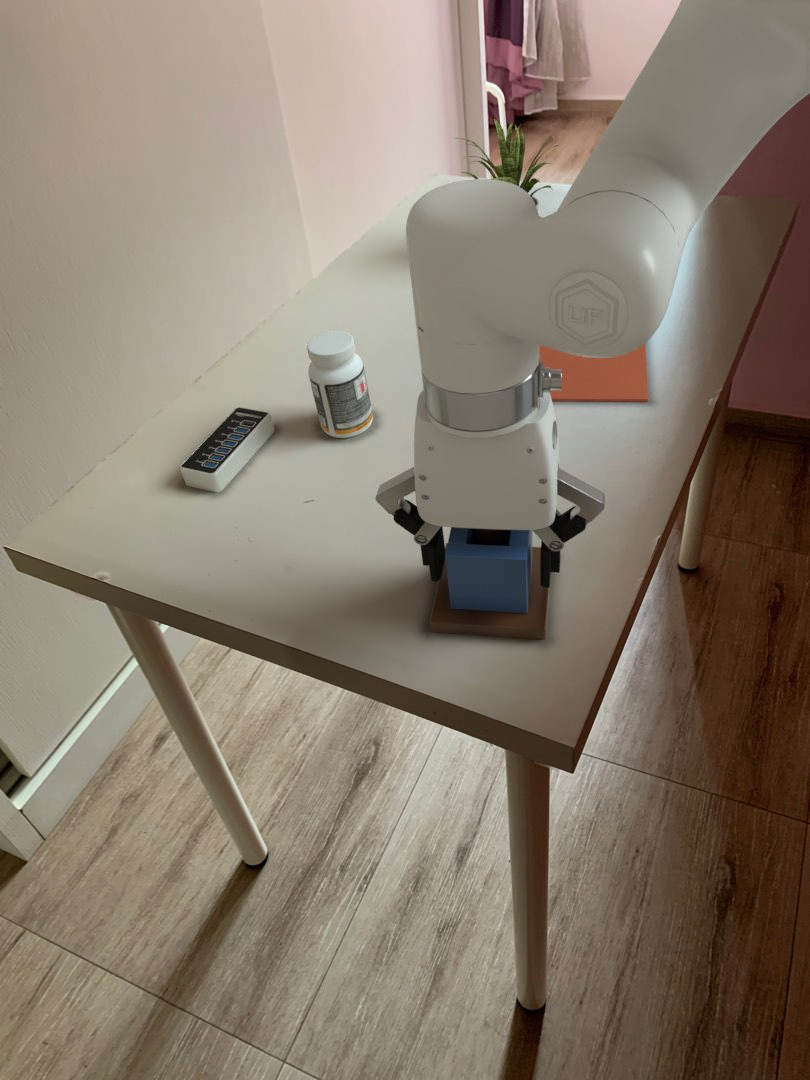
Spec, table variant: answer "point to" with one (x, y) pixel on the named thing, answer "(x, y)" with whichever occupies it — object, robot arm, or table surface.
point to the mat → (599, 376)
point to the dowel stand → (493, 621)
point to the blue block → (489, 571)
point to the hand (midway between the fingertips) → (491, 571)
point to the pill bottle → (339, 384)
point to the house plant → (512, 161)
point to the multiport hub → (227, 449)
